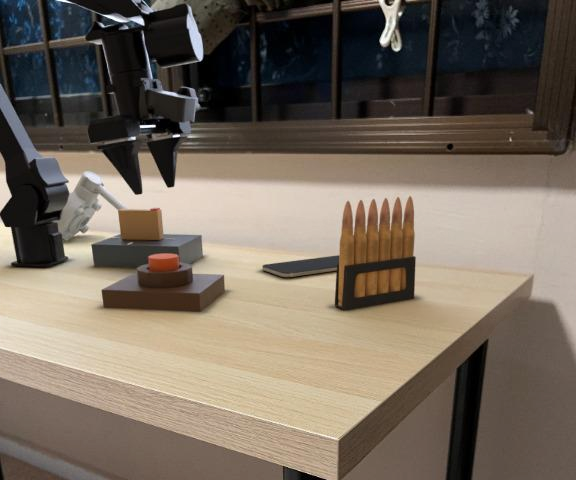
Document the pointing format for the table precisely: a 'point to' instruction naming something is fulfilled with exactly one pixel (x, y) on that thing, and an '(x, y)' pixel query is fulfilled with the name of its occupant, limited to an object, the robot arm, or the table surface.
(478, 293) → the table surface
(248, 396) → the table surface
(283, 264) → the smartphone
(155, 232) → the block
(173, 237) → the panel
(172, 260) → the button
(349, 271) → the ammunition clip
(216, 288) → the button box
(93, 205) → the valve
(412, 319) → the table surface
